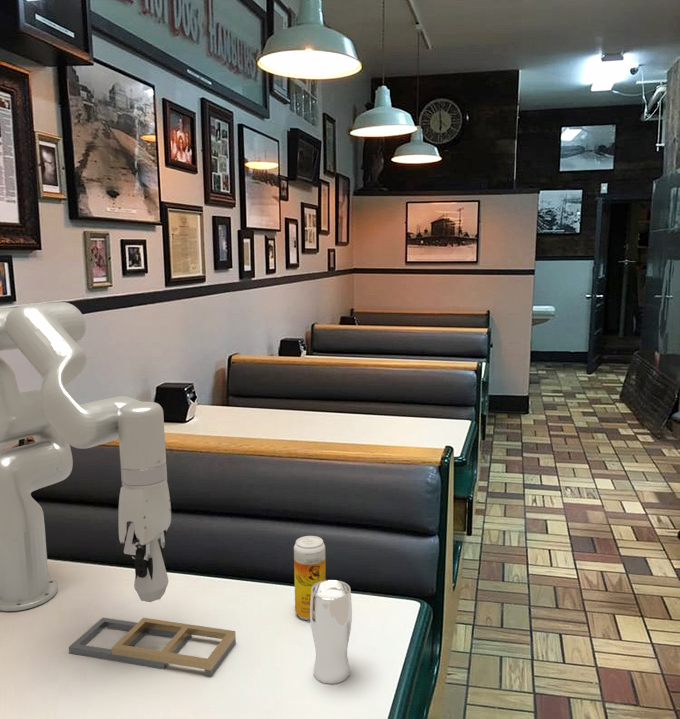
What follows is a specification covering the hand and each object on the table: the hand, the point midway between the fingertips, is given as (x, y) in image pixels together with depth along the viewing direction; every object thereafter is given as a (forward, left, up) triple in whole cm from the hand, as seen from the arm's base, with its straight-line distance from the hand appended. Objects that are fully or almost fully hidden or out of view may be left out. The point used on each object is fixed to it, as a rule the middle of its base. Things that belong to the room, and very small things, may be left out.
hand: (150, 573), depth 113 cm
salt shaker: (0, 0, -4) cm, 4 cm away
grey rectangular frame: (-5, 0, -14) cm, 15 cm away
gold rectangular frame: (+4, 0, -14) cm, 15 cm away
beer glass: (+33, +1, -15) cm, 36 cm away
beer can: (+24, +18, -15) cm, 33 cm away
